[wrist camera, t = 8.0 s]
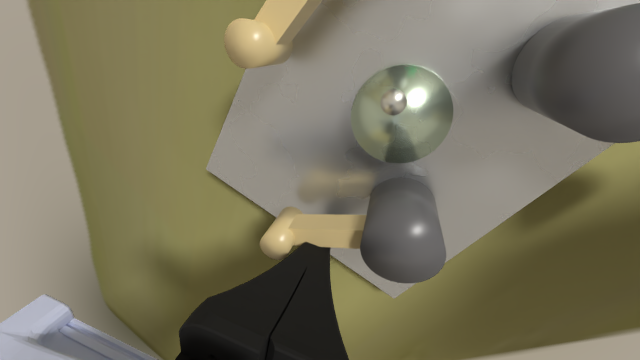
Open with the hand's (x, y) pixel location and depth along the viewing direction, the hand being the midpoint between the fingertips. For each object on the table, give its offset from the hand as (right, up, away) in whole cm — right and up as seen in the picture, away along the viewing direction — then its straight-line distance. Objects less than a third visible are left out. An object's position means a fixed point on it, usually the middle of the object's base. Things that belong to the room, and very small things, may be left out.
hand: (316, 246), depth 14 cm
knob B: (+2, +2, 0) cm, 3 cm away
